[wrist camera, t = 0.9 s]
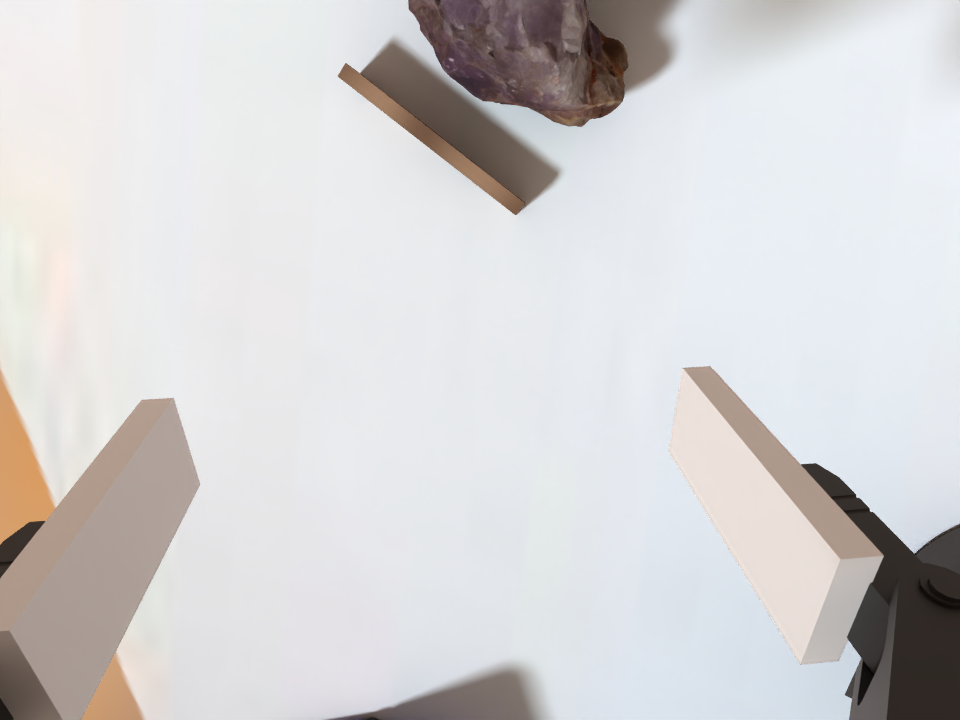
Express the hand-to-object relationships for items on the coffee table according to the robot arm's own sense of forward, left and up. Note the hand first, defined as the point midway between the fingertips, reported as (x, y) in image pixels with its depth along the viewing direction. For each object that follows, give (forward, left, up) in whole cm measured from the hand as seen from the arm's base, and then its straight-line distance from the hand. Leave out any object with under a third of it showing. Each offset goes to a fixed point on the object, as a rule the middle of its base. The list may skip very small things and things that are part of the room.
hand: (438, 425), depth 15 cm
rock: (+8, -13, -22) cm, 26 cm away
